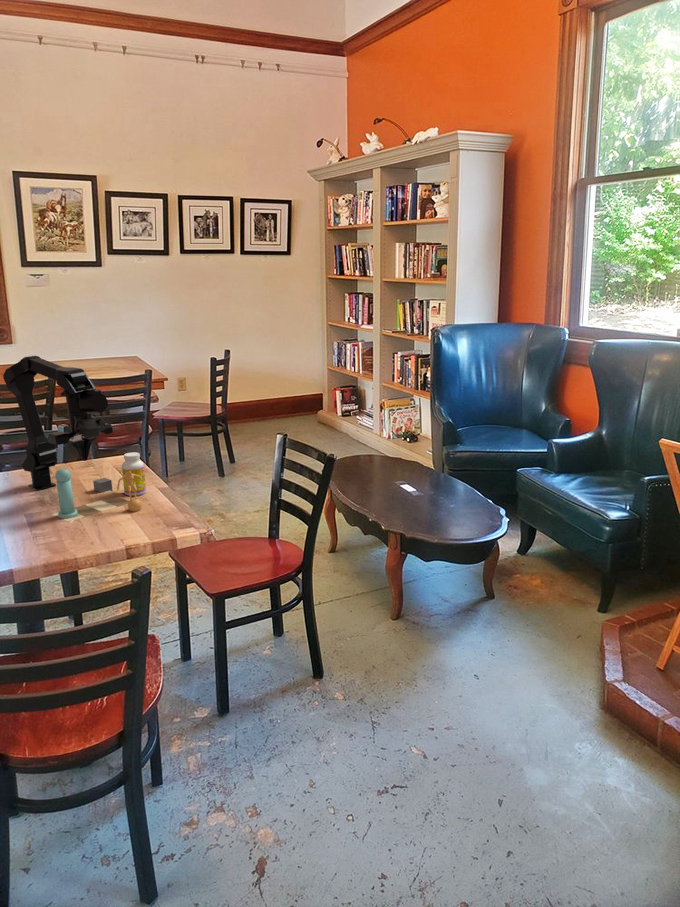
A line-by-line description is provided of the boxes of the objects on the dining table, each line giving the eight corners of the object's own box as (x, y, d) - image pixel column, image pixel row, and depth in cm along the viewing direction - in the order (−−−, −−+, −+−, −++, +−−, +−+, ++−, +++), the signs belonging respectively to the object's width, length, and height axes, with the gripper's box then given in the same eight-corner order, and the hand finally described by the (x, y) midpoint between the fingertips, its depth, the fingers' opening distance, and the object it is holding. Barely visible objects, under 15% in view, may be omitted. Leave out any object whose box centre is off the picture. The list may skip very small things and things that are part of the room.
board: (50, 516, 197) (50, 514, 197) (115, 497, 212) (115, 495, 212) (68, 524, 191) (67, 522, 191) (134, 504, 206) (133, 502, 206)
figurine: (123, 516, 196) (119, 477, 193) (117, 511, 201) (112, 472, 198) (151, 510, 201) (148, 471, 197) (144, 505, 205) (140, 467, 202)
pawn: (54, 515, 195) (48, 469, 192) (72, 510, 199) (66, 464, 195) (64, 520, 192) (58, 472, 188) (81, 514, 196) (75, 468, 192)
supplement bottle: (147, 495, 214) (143, 455, 211) (125, 497, 212) (120, 458, 209) (145, 488, 220) (142, 450, 217) (124, 491, 218) (120, 452, 215)
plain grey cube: (94, 492, 218) (93, 480, 217) (105, 489, 221) (104, 477, 219) (101, 495, 215) (99, 483, 214) (112, 492, 218) (111, 480, 217)
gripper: (61, 419, 195) (69, 471, 199) (119, 407, 208) (126, 457, 212) (43, 415, 202) (51, 466, 206) (100, 404, 215) (107, 452, 219)
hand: (85, 460), depth 211 cm, fingers closed
